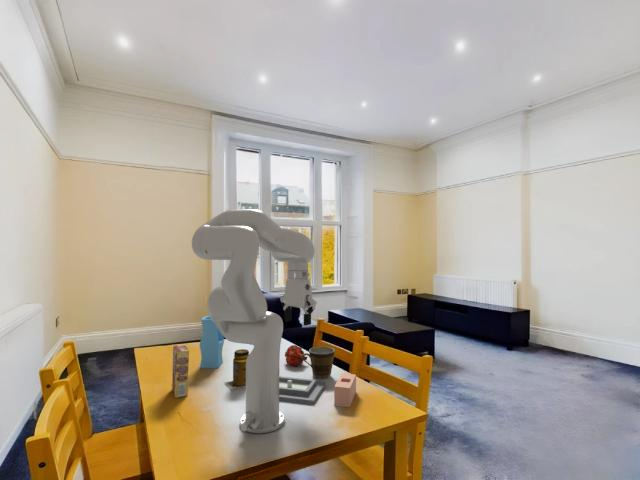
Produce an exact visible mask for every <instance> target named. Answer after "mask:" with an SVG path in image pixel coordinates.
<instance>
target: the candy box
mask: <svg viewBox="0 0 640 480" xmlns="http://www.w3.org/2000/svg"><path fill="white" fill-rule="evenodd" d="M172 349H173V350H172V375H171V376H172V380H171V381H172V382H171V383H172V384H171V389H172V392H173V395H174V397H175V399H177V398H183V397H188V391H189V362H190V350H189V348H188V347H187V345H186V344H177V345H173V347H172Z"/></svg>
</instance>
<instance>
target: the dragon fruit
mask: <svg viewBox="0 0 640 480" xmlns="http://www.w3.org/2000/svg"><path fill="white" fill-rule="evenodd" d="M302 349H303V348H302V347H301V346H298V345H295V344H294V345H290V346H289V347H288V348H287V349H286V351H285V353H284V357H285V362H286V364H290V365H291V366H292V367H294V368H295V367H298V366H297V365H302V364H303V363H304V361H303V359H304V360H305V361H308V356H306V355H305V356H304V357H303V355H304V354H305V352H304V350H302ZM302 357H303V359H302Z"/></svg>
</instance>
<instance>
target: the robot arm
mask: <svg viewBox="0 0 640 480" xmlns="http://www.w3.org/2000/svg"><path fill="white" fill-rule="evenodd" d="M191 248H192V252H193V253H194V254H195V255H196V256H197V257H198V258H199V259H203V260H207V261H209V260H213V261H217V260H218V261H221V260H222V261H230V262H229V265H228V266H227V269H226V270H225V271H224V273H223V275H222V278H221V281H220V286H217V287H215V288H214V289H213V290H212V291H211V292H210V294H209V296H208V298H207V299H208V300H207V311H208V314H209V315H208V316H210V317H211V319H212V320H213V322H214V323H215V325H216V326H217V328H218V329H219V331H220V332H221V333H222V335H223V338H224V339H226V340H227V341H228V342H230V343H234V344H235V343H236V344H243V345H245V344H246V345H251V346H253V349H252V350H251V351H250V352H249V355H248V357H247V360H246V387H245V413H244V414H243V415H242V416H241V417H240V419H239V425H240V427H239V428H240V430H241V431H242V432H248V433H252V434H266V433H267V434H268V433H271V432H274V431H276V430H278V429H280V428H281V427H283V425H284V423H285V422H286V421H285V415H284V414H283V412H281V411H280V400H279V376H280V359H281V358H280V353H281V344H282V343H281V342H282V338H283V332H284V322H286V323H287V322H290V321H292V319H293V310H292V307H293V308H299V309H302V310H303V312H304V313H303V326H305V327H306V326H310V325H311V324H312V314H313V313H314V310H315V309H316V306H317V303H318V302H317V301H316V300H315V299H314V298H313V291H312V283H311V279H309V277H310V272H309V262H311V261H312V260H313V259H314V257H315V253H316V252H315V246H314V243H313V242H312V240H311V239H310V238H309V236H307V235H305V234H304V233H302V232H299V231H297V230H294V229H290V228H288V227H284V226H281V225H279V224H278V223H276V221H274V220H273V219H272V218H271V217H269V216H268V215H267V214H266V213H265V212H264V211H262V210H259V209H253V208H252V209H249V208H248V209H231V210H225V211H223V212H221V213H219V214H217V215H215V216H214V217H213V218H211V219H209V220H208V221H206V222H205V223H203V224H202V225H200V226H199V227H198V228H197V229H196V230H195V231H194V233H193V236H192V238H191ZM260 248H261V249H263V250H264V251H268V252H271V255H272V257H273V258H274V259H275V260H276V261H277V262H283V263H287V264H286V265H287V267H286V270H287V272H286V273H287V274H286V276H287V278H286V281H285V285H284V287H285V288H284V295H282V296H280V298H279V300H280V302H281V306H282V309H283V311H284V313H283V314H284V315H283V316H284V317H283V318H284V322H283V318H282V317H281V316H280V315H279V314H277V313H275V312H272V311H268V303H267V300H266V298H265V295H264V293H263V291H262V289H261V287H260V285H259V283H258V281H257V279H256V275H255V269H256V265H257V260H258V254H259V250H260Z"/></svg>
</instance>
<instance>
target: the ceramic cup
mask: <svg viewBox="0 0 640 480" xmlns="http://www.w3.org/2000/svg"><path fill="white" fill-rule="evenodd" d="M308 352H309V353H305V352H304V354H303V357H304V356H305V357H306V356H307V357H309V359H310V363H309V362H308V360H304V359H303V357H302V359H303V362H305V363H306V364H307V365H308V366H310V368H311V371H312V376H313V378H315V379H320V380H325V379H329V378H330V377H331V375H332V370H333V362H334V359H335V349H334V348H332V347H331V346H330V347H328V346H315V347H311V348H310V349H309V350H308Z"/></svg>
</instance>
